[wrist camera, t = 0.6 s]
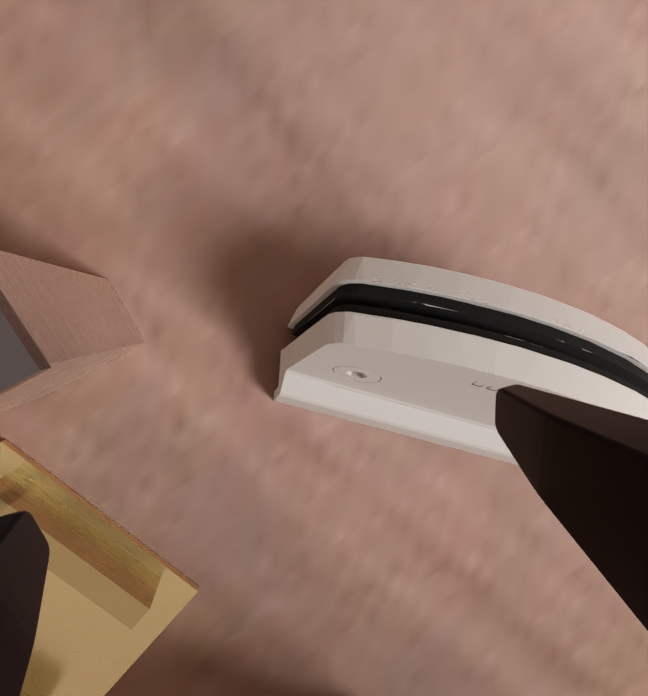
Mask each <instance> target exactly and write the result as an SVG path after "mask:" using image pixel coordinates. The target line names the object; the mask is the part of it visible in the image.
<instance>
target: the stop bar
mask: <svg viewBox="0 0 648 696" xmlns="http://www.w3.org/2000/svg"><path fill="white" fill-rule="evenodd" d="M144 343H146V341H145V339H144V338H143V336H142V334H141V333H140V331H139V330H138V328H137V326H136V325H135V323H134V321H133V320H132V318H131V316H130V315H129V313H128V312H127V310H126V308H125V307H124V305H123V303H122V302H121V300H120V299H119V297H118V295H117V294H116V292H115V290H114V289H113V287H112V285H111V284H110V282H109V281H108V279H105V278H101V277H98V276H94V275H90V274H86V273H83V272H79V271H75V270H71V269H68V268H64V267H60V266H56V265H53V264H49V263H45V262H41V261H38V260H34V259H30V258H26V257H23V256H19V255H15V254H11V253H8V252H4V251H0V412H3V411H6V410H8V409H11V408H14V407H16V406H19V405H22V404H24V403H27V402H30V401H33V400H35V399H38V398H41V397H43V396H46V395H49V394H51V393H53V392H55V391H57V390H59V389H61V388H63V387H64V386H66V385H68V384H70V383H72V382H74V381H76V380H77V379H79V378H81V377H83V376H85V375H87V374H88V373H90V372H92V371H94V370H96V369H98V368H99V367H101V366H103V365H105V364H107V363H109V362H111V361H112V360H114V359H116V358H118V357H120V356H122V355H123V354H125V353H127V352H129V351H131V350H133V349H134V348H136V347H138V346H140V345H142V344H144Z"/></svg>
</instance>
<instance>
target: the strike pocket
mask: <svg viewBox="0 0 648 696" xmlns="http://www.w3.org/2000/svg"><path fill="white" fill-rule="evenodd" d="M22 510H25V511H28V512H30V513H31V514H32V516H33V517H34V519H35V521H36V522H37V524H38V526H39V528H40V529H41V531H42V533H43V534H44V536H45V538H46V540H47V542H48V544H49V549H50V555H49V562H48V568H47V574H46V580H45V585H44V591H43V597H42V603H41V609H40V615H39V621H38V626H37V632H36V637H35V642H34V646H33V650H32V654H31V658H30V661H29V665H28V668H27V672H26V676H25V679H24V683H23V686H22V690H21V693H20V696H104V695H105V694H106V693H107V692H108V691H109V690H110V689H111V688H112V687H113V685H114V684H115V683H116V682H117V681H118V680H119V679H120V678H121V677H122V675H123V674H124V673H125V672H126V671H127V670H128V669H129V668H130V666H131V665H132V664H133V663H134V662H135V661H136V660H137V659H138V658H139V656H140V655H141V654H142V653H143V652H144V651H145V650H146V649H147V648H148V646H149V645H150V644H151V643H152V642H153V641H154V640H155V639H156V638H157V636H158V635H159V634H160V633H161V632H162V631H163V630H164V629H165V628H166V626H167V625H168V624H169V623H170V622H171V621H172V620H173V619H174V617H175V616H176V615H177V614H178V613H179V612H180V611H181V610H182V609H183V607H184V606H185V605H186V604H187V603H188V602H189V601H190V600H191V599H192V597H193V596H194V595H195V594H196V593H197V592H198V588H199V587H198V586H197V585H196V584H194V583H193V582H192V581H191V580H189V579H188V578H187V577H185V576H184V575H183V574H181V573H180V572H179V571H177V570H176V569H175V568H174V567H172V566H171V565H170V564H168V563H167V562H166V561H164V560H163V559H162V558H160V557H159V556H158V555H157V554H155V553H154V552H153V551H151V550H150V549H149V548H147V547H146V546H145V545H143V544H142V543H141V542H140V541H138V540H137V539H136V538H134V537H133V536H132V535H130V534H129V533H128V532H126V531H125V530H124V529H123V528H121V527H120V526H119V525H117V524H116V523H115V522H113V521H112V520H111V519H110V518H108V517H107V516H106V515H104V514H103V513H102V512H100V511H99V510H98V509H96V508H95V507H94V506H93V505H91V504H90V503H89V502H87V501H86V500H85V499H83V498H82V497H81V496H79V495H78V494H77V493H76V492H74V491H73V490H72V489H70V488H69V487H68V486H66V485H65V484H64V483H62V482H61V481H60V480H59V479H57V478H56V477H55V476H53V475H52V474H51V473H49V472H48V471H47V470H45V469H44V468H43V467H42V466H40V465H39V464H38V463H36V462H35V461H34V460H32V459H31V458H30V457H28V456H27V455H26V454H25V453H23V452H22V451H21V450H19V449H18V448H17V447H15V446H14V445H13V444H11V443H10V442H9V441H8V440H4V441H2V442H0V516H3V515H6V514H10V513H14V512H18V511H22Z"/></svg>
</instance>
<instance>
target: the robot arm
mask: <svg viewBox="0 0 648 696" xmlns="http://www.w3.org/2000/svg"><path fill="white" fill-rule="evenodd" d="M495 426H496V429H497V432H498V434H499V435H500V437H501V438H502V440H503V442H504V443H505V445H506V446H507V448H508V449H509V451H510V452H511V454H512V455H513V457H514V459H515V460H516V462H517V463H518V465H519V466H520V468H521V469H522V471H523V472H524V474H525V475H526V477H527V479H528V480H529V482H530V483H531V485H532V486H533V488H534V489H535V490H536V492H537V493H538V495H539V496H540V497H541V499H542V500H543V501H544V503H545V504H546V505H547V506H548V508H549V509H550V510H551V511H552V513H553V514H554V515H555V516H556V518H557V519H558V520H559V521H560V523H561V524H562V525H563V526H564V527H565V529H566V530H567V531H568V532H569V534H570V535H571V536H572V537H573V539H574V540H575V541H576V542H577V544H578V545H579V546H580V547H581V549H582V550H583V551H584V552H585V554H586V555H587V556H588V557H589V558H590V560H591V561H592V562H593V563H594V565H595V566H596V567H597V568H598V570H599V571H600V572H601V573H602V575H603V576H604V577H605V578H606V580H607V581H608V582H609V583H610V585H611V586H612V587H613V588H614V590H615V591H616V592H617V593H618V594H619V596H620V597H621V598H622V599H623V601H624V602H625V603H626V604H627V606H628V607H629V608H630V609H631V611H632V612H633V613H634V614H635V616H636V617H637V618H638V619H639V621H640V622H641V623H642V624H643V625H644V627H645V628H646V629H647V630H648V420H647V419H643V418H640V417H636V416H632V415H629V414H625V413H621V412H618V411H614V410H610V409H607V408H603V407H599V406H596V405H592V404H589V403H585V402H581V401H578V400H574V399H570V398H567V397H563V396H559V395H556V394H552V393H548V392H545V391H541V390H537V389H534V388H530V387H527V386H523V385H519V384H514V385H510V386H506V387H503V388H500V389H498V391H497V393H496V401H495ZM49 555H50V549H49V544H48V542H47V540H46V538H45V536H44V534H43V533H42V531H41V529H40V528H39V526H38V524H37V522H36V521H35V519H34V517H33V516H32V514H31V513H30V512H28V511H25V510H22V511H18V512H14V513H10V514H6V515H3V516H0V696H20V693H21V690H22V686H23V683H24V679H25V676H26V672H27V668H28V665H29V661H30V658H31V654H32V650H33V646H34V642H35V637H36V632H37V626H38V621H39V615H40V609H41V603H42V597H43V591H44V585H45V580H46V574H47V568H48V562H49Z"/></svg>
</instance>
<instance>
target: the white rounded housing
mask: <svg viewBox="0 0 648 696" xmlns="http://www.w3.org/2000/svg"><path fill="white" fill-rule="evenodd" d="M287 327H288V328H291V329H293V332H292V335H294V336H298V337H297V338H296V339H294V340H293V341H292V342H290V344H289V345H288V346H287V347H285V348H284V349H283V350H281V357H280V371H279V385H278V387H277V389H276V390H275V391H274V401H277V402H281V403H284V404H288V405H292V406H296V407H300V408H303V409H307V410H311V411H315V412H319V413H322V414H326V415H330V416H334V417H337V418H341V419H345V420H349V421H353V422H356V423H360V424H364V425H368V426H372V427H375V428H379V429H383V430H387V431H390V432H394V433H398V434H402V435H406V436H409V437H413V438H417V439H421V440H425V441H428V442H432V443H436V444H440V445H444V446H447V447H451V448H455V449H459V450H462V451H466V452H470V453H474V454H478V455H481V456H485V457H489V458H493V459H497V460H500V461H504V462H508V463H512V464H515V465H518V463H517V462H516V460H515V459H514V457H513V455H512V454H511V452H510V451H509V449H508V448H507V446H506V445H505V443H504V442H503V440H502V438H501V437H500V435H499V434H498V432H497V429H496V426H495V401H496V393H497V391H498V389H500V388H503V387H506V386H510V385H514V384H519V385H523V386H527V387H530V388H534V389H537V390H541V391H545V392H548V393H552V394H556V395H559V396H563V397H567V398H570V399H574V400H578V401H581V402H585V403H589V404H592V405H596V406H599V407H603V408H607V409H610V410H614V411H618V412H621V413H625V414H629V415H632V416H636V417H640V418H643V419H647V420H648V348H647V347H646V346H645V345H644V344H642V343H641V342H640V341H638V340H637V339H635V338H633V337H632V336H630V335H629V334H627V333H626V332H624V331H622V330H620V329H619V328H617V327H615V326H613V325H611V324H609V323H607V322H605V321H603V320H601V319H599V318H597V317H595V316H593V315H591V314H589V313H587V312H584V311H582V310H579V309H577V308H574V307H572V306H569V305H567V304H564V303H562V302H559V301H556V300H554V299H551V298H548V297H546V296H543V295H540V294H537V293H534V292H530V291H527V290H524V289H521V288H518V287H514V286H511V285H508V284H504V283H500V282H496V281H492V280H488V279H485V278H481V277H477V276H473V275H469V274H465V273H461V272H456V271H451V270H446V269H441V268H436V267H432V266H426V265H420V264H414V263H408V262H401V261H395V260H387V259H380V258H372V257H353V258H350V259H347V260H346V261H344V262H343V263H342V264H341V265H340V266H339V267H338V268H337V269H336V270H335V271H334V272H333V273H332V274H331V275H330V276H329V277H328V278H327V279H326V280H325V281H324V282H323V283H322V284H321V285H320V286H319V287H318V288H317V289H316V290H315V291H314V292H313V293H312V294H311V295H310V296H309V297H308V298H307V299H306V300H305V301H304V302H303V303H302V304H301V305H300V306H299V307H298V308H297V310H296V311H295V313H294V315H293V317H292V319H291V321H290V323H289V324H288V326H287Z"/></svg>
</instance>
